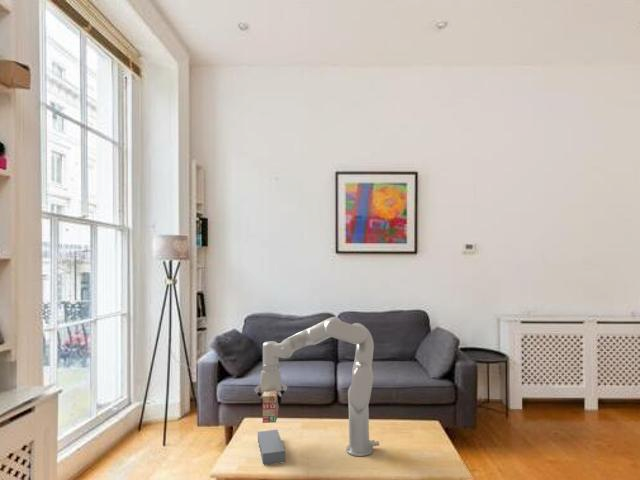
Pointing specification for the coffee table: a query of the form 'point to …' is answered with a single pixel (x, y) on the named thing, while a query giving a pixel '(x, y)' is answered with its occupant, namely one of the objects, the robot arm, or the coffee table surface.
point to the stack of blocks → (270, 406)
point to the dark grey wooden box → (271, 447)
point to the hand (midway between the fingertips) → (271, 404)
